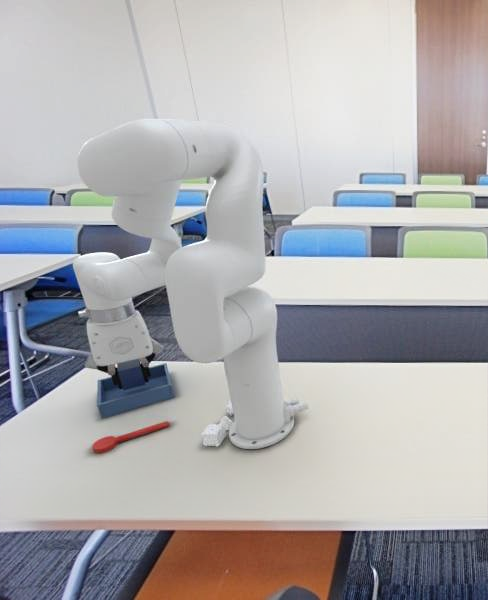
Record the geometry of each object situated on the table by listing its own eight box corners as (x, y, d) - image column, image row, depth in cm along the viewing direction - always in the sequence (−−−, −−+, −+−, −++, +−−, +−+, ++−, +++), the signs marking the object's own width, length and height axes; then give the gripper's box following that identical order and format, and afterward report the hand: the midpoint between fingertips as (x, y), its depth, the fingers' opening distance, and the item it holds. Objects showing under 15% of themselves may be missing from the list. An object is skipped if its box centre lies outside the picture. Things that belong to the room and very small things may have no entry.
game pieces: (219, 447, 79) (217, 434, 78) (203, 446, 79) (199, 434, 78) (247, 408, 90) (244, 396, 89) (232, 408, 90) (229, 396, 89)
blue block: (144, 376, 94) (138, 358, 92) (145, 384, 91) (140, 366, 90) (122, 381, 92) (117, 363, 90) (123, 390, 89) (117, 371, 87)
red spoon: (169, 420, 86) (167, 416, 85) (171, 430, 83) (169, 425, 83) (93, 444, 78) (91, 440, 78) (93, 456, 76) (91, 451, 75)
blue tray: (169, 374, 101) (166, 362, 99) (175, 397, 93) (171, 384, 91) (102, 392, 93) (97, 380, 92) (101, 418, 85) (97, 405, 84)
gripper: (57, 327, 77) (85, 404, 84) (161, 309, 87) (179, 379, 94) (60, 313, 82) (86, 386, 89) (158, 297, 92) (175, 364, 99)
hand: (133, 382), depth 92 cm, fingers closed on blue block, 4 cm apart
